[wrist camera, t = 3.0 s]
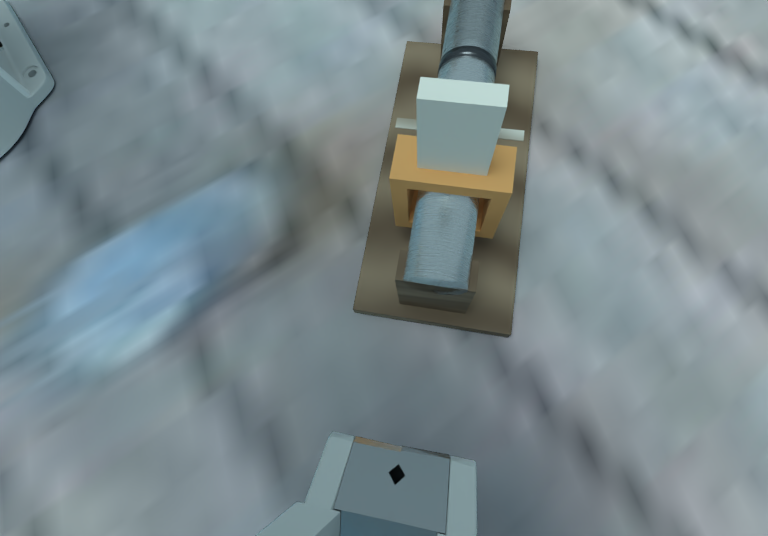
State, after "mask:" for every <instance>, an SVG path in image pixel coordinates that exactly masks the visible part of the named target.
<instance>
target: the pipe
mask: <svg viewBox="0 0 768 536" xmlns="http://www.w3.org/2000/svg"><path fill="white" fill-rule="evenodd" d="M504 2H505V0H451V3H450V9H449V15H448V21H447V27H446V32H445V38H444V44H443V50H442V56H441V60H440V63H439V69H438V78H440V79H451V80H462V81H473V82H484V83H494V82H495V78H496V71H497V57H498V49H499V41H500V33H501V26H502V18H503V10H504ZM479 199H480V198H478V197H470V196H462V195H454V194H446V193H437V192H429V191H421V190H418V195H417V201H416V207H415V212H414V218H413V224H412V230H411V236H410V241H409V247H408V253H407V259H406V265H405V270H404V276H403V281H407V282H414V283H420V284H427V285H434V286H440V287H447V288H454V289H456V292H455V291H454V290H453V291H452V292H450V291H449V292H450V293H449V292H447V291H446V292H447V293H446V292H445V291H444V292H443V291H442V292H441V291H439V290H438V291H439V292H438V291H437V293H438V294H439V293H440V294H441V295H459V294H463V293H465V292H467V291H468V285H469V278H470V270H471V262H472V254H473V246H474V238H475V230H476V222H477V215H478V207H479ZM457 289H460V290H459V291H457ZM433 294H434V293H433Z"/></svg>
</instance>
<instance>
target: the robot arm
mask: <svg viewBox="0 0 768 536" xmlns="http://www.w3.org/2000/svg"><path fill="white" fill-rule="evenodd" d="M53 87H54V80H53V78H52V76H51V74H50V72H49V71H48V69H47V67H46V66H45V64H44V62H43V60H42V59H41V57H40V55H39V53H38V52H37V50H36V48H35V47H34V45H33V43H32V41H31V40H30V38H29V36H28V34H27V33H26V31H25V29H24V28H23V26H22V24H21V22H20V21H19V19H18V17H17V15H16V14H15V12H14V10H13V9H12V7H11V5H10V4H9V3H8V2H7V1H5V0H0V157H2V156H3V155H4V154H5V153H6V152H7V151H8V150H9V149H10V148H11V147H12V146H13V145H14V144H15V143H16V141H17V140H18V139H19V137H20V136H21V134H22V133H23V131H24V130H25V128H26V126H27V124H28V122H29V120H30V118H31V115H32V113H33V112H34V110H35V108H36V107H37V106H38V105H39V104H40V103H41V102H42V101H43V100H44V99H45V97H46V96H47V95H48V94H49V93H50V92H51V90H52V89H53ZM255 536H477V468H476V463H475V460H470V459H465V458H460V457H455V456H450V457H449V455H448V454H443V453H437V452H432V451H427V450H421V449H416V448H411V447H405V446H402V447H401V446H396V445H392V444H388V443H383V442H379V441H375V440H370V439H366V438H362V437H357V436H352V435H348V434H343V433H338V432H334V431H332V433H331V434H330V436H329V437H328V440H327V442H326V445H325V448H324V450H323V453H322V456H321V458H320V461H319V464H318V467H317V469H316V472H315V475H314V477H313V480H312V483H311V486H310V488H309V491H308V494H307V496H306V499H305V502H304V503H301V502H296V503H295V504H293V505H292V506H291V507H290V508H288V509H287V510H286V511H285V512H284V513H282V514H281V515H280V516H279V517H277V518H276V519H275V520H274V521H273V522H271V523H270V524H269V525H268V526H266V527H265V528H264V529H263V530H262V531H260V532H259V533H258V534H257V535H255Z"/></svg>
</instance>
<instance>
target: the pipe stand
mask: <svg viewBox="0 0 768 536" xmlns="http://www.w3.org/2000/svg"><path fill="white" fill-rule="evenodd" d="M450 3H451V0H444V7H443V23H442V40H441V44H435V43H423V42H410V41H407V44H406V49H405V54H404V59H403V64H402V69H401V74H400V79H399V84H398V88H397V93H396V98H395V103H394V108H393V113H392V118H391V123H390V128H389V133H388V138H387V143H386V148H385V153H384V158H383V163H382V168H381V173H380V178H379V182H378V187H377V192H376V197H375V202H374V207H373V212H372V217H371V222H370V227H369V232H368V237H367V242H366V247H365V252H364V257H363V262H362V267H361V271H360V276H359V281H358V286H357V291H356V296H355V301H354V306H353V310H354V312H356V313H362V314H368V315H374V316H380V317H386V318H393V319H399V320H405V321H411V322H417V323H423V324H429V325H436V326H442V327H448V328H454V329H460V330H466V331H473V332H479V333H485V334H491V335H497V336H503V337H509V336H510V335H511V330H512V319H513V309H514V298H515V288H516V277H517V267H518V256H519V246H520V235H521V225H522V214H523V203H524V193H525V182H526V172H527V161H528V151H529V140H530V130H531V119H532V109H533V98H534V88H535V77H536V67H537V56H538V52H535V51H522V50H510V49H501V48H502V44H503V40H504V35H505V31H506V27H507V22H508V18H509V14H510V8H511V0H505V2H504V10H503V18H502V26H501V33H500V41H499V49H498V57H497V71H496V78H495V82H494V83H495V84H506V85H510V86H509V94H508V103H507V109H506V112H505V116H504V119H503V123H502V126H501V130H500V133H499V136H498V140H497V143H496V145H504V146H513V147H517V153H516V162H515V172H514V182H513V191H512V195H511V197H510V200H509V202H508V204H507V207H506V209H505V211H504V213H503V216H502V218H501V220H500V223H499V225H498V227H497V229H496V232H495V234H494V236H493V239H490V238H483V237H475V238H474V246H473V254H472V262H471V270H470V278H469V285H468V291H467V292H465V293H463V294H459V295H441V294H440V293H439V294H438V293H437V291H438V290H439V291H441V292H442V291H443V292H444V291H445V292H446V291H447V292H449V291H450V292H452V291H453V290H454V291H455V292H456V289H454V288H447V287H440V286H434V285H427V284H420V283H414V282H407V281H403V276H404V270H405V265H406V259H407V253H408V247H409V241H410V236H411V230H412V228H409V227H401V226H396V225H395V218H394V211H393V203H392V196H391V189H390V181H389V177H390V171H391V166H392V161H393V156H394V151H395V146H396V141H397V135H398V134H402V135H411V136H417V104H416V98H417V93H418V88H419V82H420V77H429V78H438V69H439V63H440V60H441V56H442V50H443V44H444V38H445V32H446V27H447V21H448V15H449V9H450ZM459 290H460V289H457V291H459ZM439 291H438V292H439ZM447 292H446V293H447ZM450 292H449V293H450ZM433 293H434V294H433Z"/></svg>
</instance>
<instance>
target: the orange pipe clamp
mask: <svg viewBox="0 0 768 536" xmlns="http://www.w3.org/2000/svg"><path fill="white" fill-rule="evenodd" d="M509 86H510V85H506V84H495V83H484V82H473V81H462V80H451V79H440V78H429V77H420V82H419V88H418V93H417V98H416V104H417V136H411V135H402V134H398V135H397V141H396V146H395V151H394V156H393V161H392V166H391V171H390V177H389V181H390V189H391V196H392V203H393V211H394V218H395V225H396V226H401V227H409V228H412V224H413V218H414V212H415V207H416V201H417V195H418V190H421V191H429V192H437V193H446V194H454V195H462V196H470V197H478V198H480V199H479V207H478V215H477V222H476V230H475V237H483V238H490V239H493V236H494V234H495V232H496V229H497V227H498V225H499V223H500V220H501V218H502V216H503V213H504V211H505V209H506V207H507V204H508V202H509V200H510V197H511V195H512V191H513V182H514V172H515V162H516V153H517V147H513V146H504V145H496V143H497V140H498V136H499V133H500V130H501V126H502V123H503V119H504V116H505V112H506V109H507V103H508V94H509Z"/></svg>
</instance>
